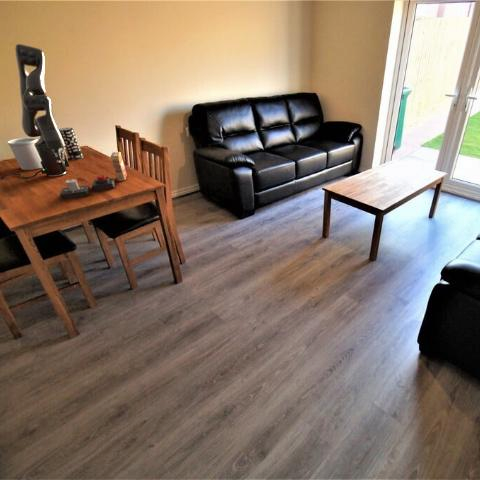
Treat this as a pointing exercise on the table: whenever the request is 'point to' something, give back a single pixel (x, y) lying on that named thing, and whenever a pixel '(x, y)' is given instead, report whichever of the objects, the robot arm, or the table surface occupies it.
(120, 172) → the candy box
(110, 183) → the button housing
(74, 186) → the dial
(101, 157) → the table surface
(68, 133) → the spotted tube
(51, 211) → the table surface
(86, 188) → the dial panel
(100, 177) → the power button
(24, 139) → the utensil holder
